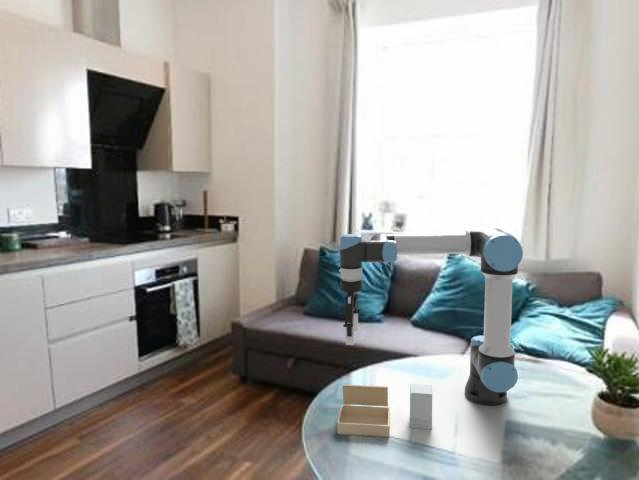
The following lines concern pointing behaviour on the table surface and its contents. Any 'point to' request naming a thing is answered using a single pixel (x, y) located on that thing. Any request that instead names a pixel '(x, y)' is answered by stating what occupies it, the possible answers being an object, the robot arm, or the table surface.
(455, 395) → the table surface
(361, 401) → the lid flap
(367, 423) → the box
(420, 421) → the supplement box
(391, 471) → the table surface
